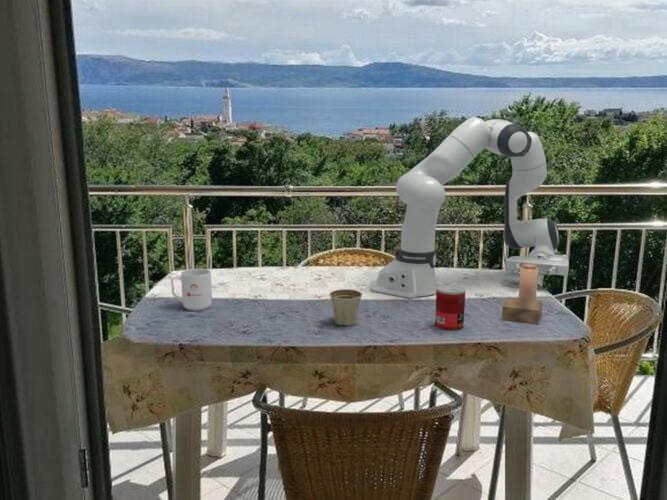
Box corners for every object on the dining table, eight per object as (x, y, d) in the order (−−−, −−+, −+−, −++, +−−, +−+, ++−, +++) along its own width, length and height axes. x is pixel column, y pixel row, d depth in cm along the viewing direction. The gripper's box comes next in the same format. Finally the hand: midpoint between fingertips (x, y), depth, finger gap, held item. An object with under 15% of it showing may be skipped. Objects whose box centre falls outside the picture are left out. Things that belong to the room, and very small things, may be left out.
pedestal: (502, 319, 187) (502, 306, 186) (507, 309, 196) (507, 297, 195) (537, 324, 183) (538, 310, 183) (541, 313, 192) (542, 300, 192)
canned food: (463, 331, 178) (465, 293, 175) (434, 329, 179) (435, 291, 177) (463, 322, 185) (465, 285, 183) (435, 320, 187) (437, 283, 184)
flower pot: (351, 330, 178) (351, 300, 177) (323, 324, 183) (322, 295, 181) (368, 321, 186) (368, 292, 184) (340, 315, 191) (340, 287, 189)
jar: (517, 306, 199) (519, 265, 196) (519, 301, 204) (521, 262, 201) (534, 308, 197) (537, 267, 194) (536, 303, 202) (539, 263, 199)
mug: (213, 302, 204) (211, 268, 201) (210, 311, 195) (209, 275, 193) (174, 303, 203) (172, 269, 200) (170, 312, 194) (168, 276, 191)
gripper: (509, 250, 226) (501, 258, 213) (571, 255, 217) (566, 264, 205) (509, 267, 227) (500, 277, 215) (570, 273, 218) (565, 283, 206)
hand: (533, 271), depth 210 cm, fingers open, 8 cm apart
